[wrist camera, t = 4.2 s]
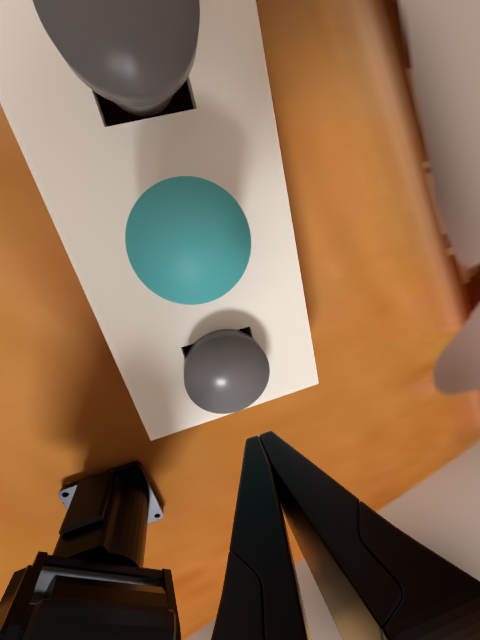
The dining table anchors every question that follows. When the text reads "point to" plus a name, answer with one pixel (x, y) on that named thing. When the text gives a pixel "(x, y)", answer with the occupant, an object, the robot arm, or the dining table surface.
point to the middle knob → (188, 240)
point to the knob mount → (143, 172)
